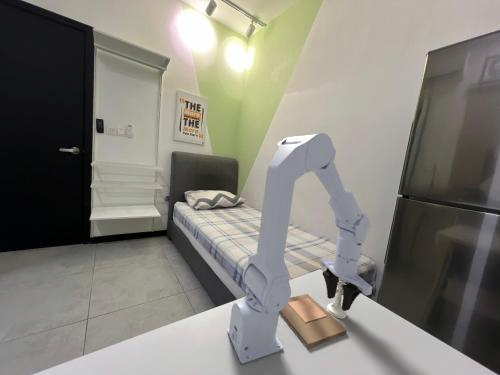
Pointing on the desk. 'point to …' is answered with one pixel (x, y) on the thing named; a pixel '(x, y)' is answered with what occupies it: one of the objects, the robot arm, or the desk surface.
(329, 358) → the desk surface
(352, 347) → the desk surface
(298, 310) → the walnut board
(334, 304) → the chess piece
